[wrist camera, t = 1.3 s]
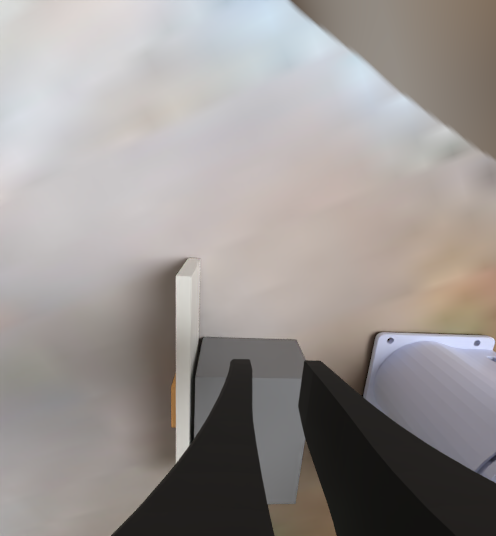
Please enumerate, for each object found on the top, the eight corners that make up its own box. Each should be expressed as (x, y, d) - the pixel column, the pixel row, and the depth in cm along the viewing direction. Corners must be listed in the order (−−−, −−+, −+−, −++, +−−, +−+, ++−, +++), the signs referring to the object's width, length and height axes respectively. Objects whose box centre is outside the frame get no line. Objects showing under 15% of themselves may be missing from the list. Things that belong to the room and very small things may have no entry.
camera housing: (296, 339, 20) (314, 378, 16) (281, 456, 23) (293, 516, 19) (203, 337, 20) (195, 376, 15) (199, 456, 22) (192, 518, 18)
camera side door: (200, 258, 18) (191, 276, 14) (195, 452, 22) (188, 509, 18) (182, 257, 18) (167, 275, 14) (181, 452, 22) (169, 510, 18)
